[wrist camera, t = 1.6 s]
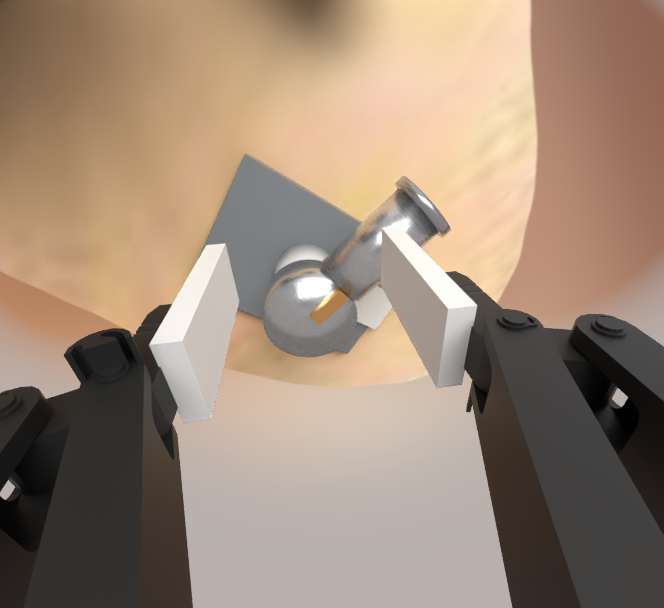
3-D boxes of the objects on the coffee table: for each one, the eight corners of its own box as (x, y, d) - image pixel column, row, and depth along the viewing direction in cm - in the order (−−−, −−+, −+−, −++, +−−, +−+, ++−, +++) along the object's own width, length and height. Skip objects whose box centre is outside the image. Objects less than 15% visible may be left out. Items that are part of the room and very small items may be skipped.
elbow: (308, 340, 37) (312, 377, 32) (248, 295, 33) (242, 330, 28) (439, 227, 32) (468, 249, 27) (386, 160, 28) (408, 171, 23)
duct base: (188, 282, 38) (170, 314, 32) (246, 153, 32) (237, 163, 26) (350, 350, 46) (360, 386, 40) (421, 257, 40) (444, 283, 34)
